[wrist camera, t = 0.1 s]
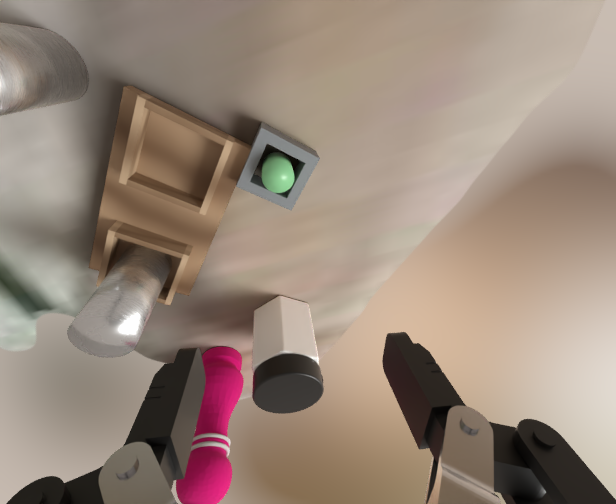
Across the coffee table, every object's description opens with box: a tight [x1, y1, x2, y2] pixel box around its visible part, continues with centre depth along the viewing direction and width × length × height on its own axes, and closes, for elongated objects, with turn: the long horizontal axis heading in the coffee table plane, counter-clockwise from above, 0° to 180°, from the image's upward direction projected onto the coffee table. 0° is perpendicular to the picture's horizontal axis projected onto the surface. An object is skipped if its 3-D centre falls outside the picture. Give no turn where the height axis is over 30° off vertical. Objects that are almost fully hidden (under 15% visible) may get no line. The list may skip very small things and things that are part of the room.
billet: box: [0, 22, 89, 116], centre depth 19 cm, size 5×5×11 cm
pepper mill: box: [176, 347, 243, 504], centre depth 37 cm, size 7×7×20 cm
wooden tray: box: [89, 85, 251, 305], centre depth 29 cm, size 21×11×4 cm, turn 151°
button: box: [262, 152, 294, 193], centre depth 27 cm, size 3×3×3 cm
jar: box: [252, 296, 323, 413], centre depth 37 cm, size 9×8×12 cm
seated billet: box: [68, 243, 172, 357], centre depth 28 cm, size 5×5×11 cm
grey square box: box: [236, 122, 320, 210], centre depth 29 cm, size 6×6×3 cm
